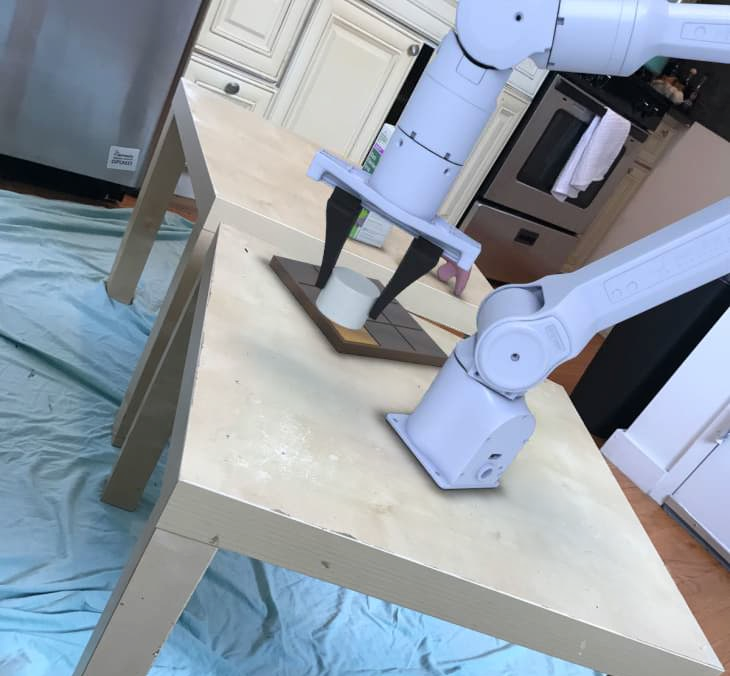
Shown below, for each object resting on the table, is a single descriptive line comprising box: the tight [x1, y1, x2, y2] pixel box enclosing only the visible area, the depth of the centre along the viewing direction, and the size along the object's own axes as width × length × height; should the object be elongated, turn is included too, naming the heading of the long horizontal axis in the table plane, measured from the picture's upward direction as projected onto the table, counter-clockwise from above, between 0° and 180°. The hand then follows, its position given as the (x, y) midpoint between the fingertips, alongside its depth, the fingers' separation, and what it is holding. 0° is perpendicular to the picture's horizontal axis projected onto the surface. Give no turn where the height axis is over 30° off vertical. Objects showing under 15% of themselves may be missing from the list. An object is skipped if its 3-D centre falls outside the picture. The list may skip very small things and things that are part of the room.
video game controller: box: [436, 254, 473, 296], centre depth 107 cm, size 10×5×7 cm, turn 84°
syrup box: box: [348, 122, 397, 249], centre depth 103 cm, size 6×6×14 cm
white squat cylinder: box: [316, 265, 381, 330], centre depth 62 cm, size 4×4×3 cm
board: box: [269, 254, 449, 368], centre depth 83 cm, size 16×16×1 cm
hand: (347, 300), depth 62 cm, fingers closed on white squat cylinder, 4 cm apart
